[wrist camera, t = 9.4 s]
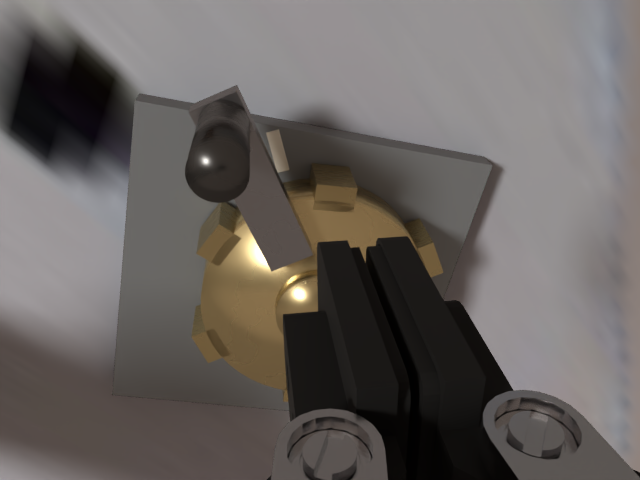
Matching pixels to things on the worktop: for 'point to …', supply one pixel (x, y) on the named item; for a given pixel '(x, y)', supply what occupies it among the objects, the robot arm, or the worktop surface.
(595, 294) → the worktop surface
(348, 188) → the gold domed lever dial
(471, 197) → the base plate
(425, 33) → the worktop surface
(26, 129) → the worktop surface
